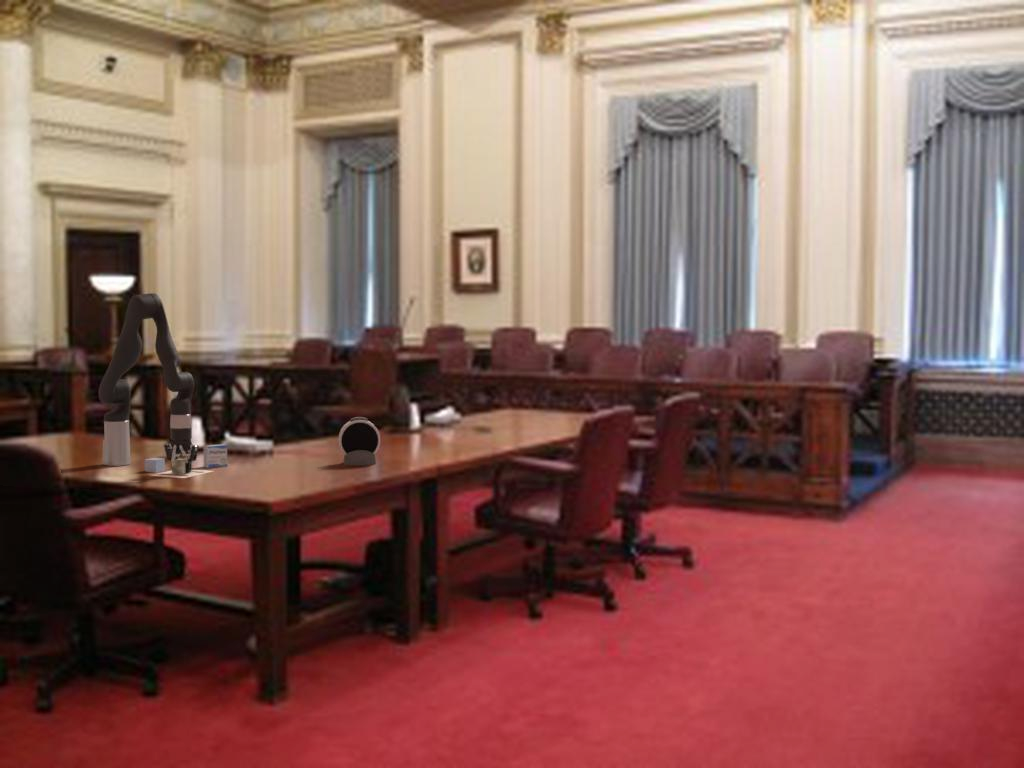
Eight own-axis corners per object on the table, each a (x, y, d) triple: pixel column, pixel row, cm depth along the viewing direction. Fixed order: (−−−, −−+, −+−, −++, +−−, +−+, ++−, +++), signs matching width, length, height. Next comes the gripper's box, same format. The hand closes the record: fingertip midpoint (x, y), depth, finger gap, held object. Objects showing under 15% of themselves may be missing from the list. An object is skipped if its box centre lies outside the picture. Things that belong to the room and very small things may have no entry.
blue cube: (145, 472, 435) (144, 459, 434) (154, 470, 439) (153, 457, 439) (156, 473, 433) (155, 460, 432) (164, 471, 437) (164, 458, 437)
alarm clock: (339, 465, 451) (338, 418, 450) (338, 462, 461) (337, 416, 460) (381, 464, 455) (380, 418, 453) (379, 460, 465) (378, 415, 463)
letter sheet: (148, 476, 425) (148, 475, 425) (179, 469, 442) (179, 468, 442) (184, 479, 419) (184, 477, 419) (214, 472, 436) (214, 470, 436)
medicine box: (207, 469, 443) (207, 446, 443) (203, 467, 447) (203, 445, 446) (227, 467, 448) (227, 444, 447) (223, 465, 452) (222, 443, 451)
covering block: (172, 473, 429) (171, 460, 428) (180, 471, 433) (180, 458, 433) (183, 474, 427) (182, 460, 427) (191, 472, 432) (191, 459, 431)
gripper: (158, 426, 428) (159, 472, 429) (190, 428, 423) (191, 474, 424) (171, 424, 435) (172, 469, 436) (203, 426, 430) (204, 472, 431)
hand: (181, 472), depth 430 cm, fingers closed on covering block, 5 cm apart
